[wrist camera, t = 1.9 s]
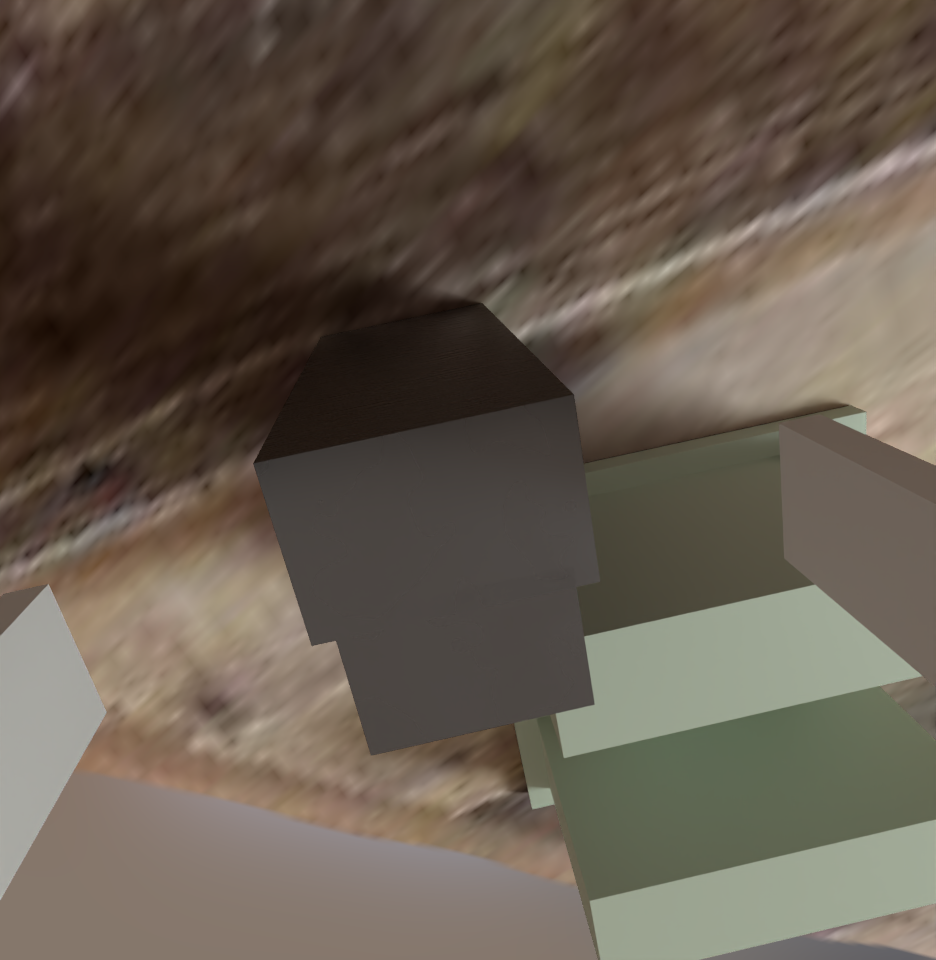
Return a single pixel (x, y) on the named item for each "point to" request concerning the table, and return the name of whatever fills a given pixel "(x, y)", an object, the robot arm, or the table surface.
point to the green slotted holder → (727, 722)
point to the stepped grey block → (436, 524)
